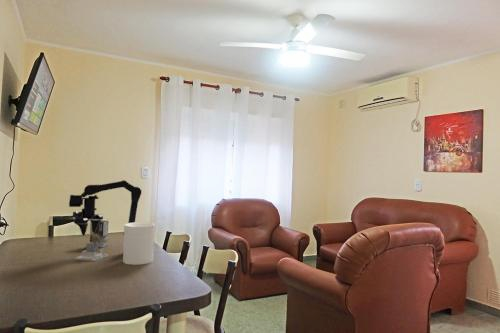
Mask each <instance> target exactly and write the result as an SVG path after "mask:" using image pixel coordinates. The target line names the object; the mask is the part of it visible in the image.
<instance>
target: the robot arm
mask: <svg viewBox="0 0 500 333" xmlns="http://www.w3.org/2000/svg"><path fill="white" fill-rule="evenodd" d="M120 188H124V189H125V190H127V191H128V192H130V200H131V201H130V202H131V203H130V208H129V216H128V223H133V222H136V218H137V210H138V203H139V200H140V198H141V196H142V189H141V188H140V187H139V186H134V185H133V184H130V182H128V181H126V180H123V179H122V180H120V181H114V182H108V183H103V184H87V185H86V186H85V187H84V190H83V192H82V193H80V194H81V195H80V194H78V195H77V194H75V195H74V194H70V195H69V202H68V207H69V208H81V207H82V206H83V208H81V211H77V210H76V211H73V212H72V217H73V218H74V219H73V223H74V224H75V225H76V226H78V227H79V229H80V233H81V235H82V236H86V233H87V228H88V226H89V223H88V222H91V223H92V232H95V231H96V229H97V227H98V225H99V223H100V222H101V221H103V220H104V216H103V214H96V211H97V209H98V208H96V200H98V199H99V198H100V197H99V196H98V195H97V194H98V193H101V192H105V191H110V190H114V189H120ZM122 234H123V235H124V232H123V233H122Z"/></svg>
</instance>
